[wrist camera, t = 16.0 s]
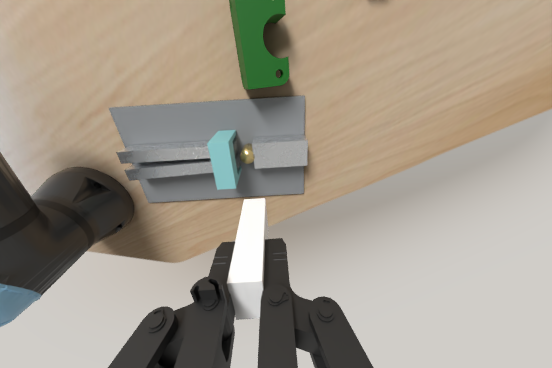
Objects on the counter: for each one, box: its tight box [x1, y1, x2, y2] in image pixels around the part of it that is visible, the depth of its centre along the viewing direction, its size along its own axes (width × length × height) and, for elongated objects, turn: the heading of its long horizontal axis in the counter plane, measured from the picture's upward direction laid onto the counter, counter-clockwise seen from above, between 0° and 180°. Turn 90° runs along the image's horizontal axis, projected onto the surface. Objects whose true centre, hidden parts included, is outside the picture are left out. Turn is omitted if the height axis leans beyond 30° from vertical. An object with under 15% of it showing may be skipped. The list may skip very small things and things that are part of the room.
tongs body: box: [116, 135, 308, 169], centre depth 36 cm, size 31×4×4 cm, turn 93°
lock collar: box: [207, 130, 242, 190], centre depth 34 cm, size 3×8×7 cm, turn 3°
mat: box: [109, 96, 305, 203], centre depth 38 cm, size 32×18×1 cm, turn 93°
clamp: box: [229, 0, 289, 90], centre depth 28 cm, size 12×6×9 cm, turn 0°
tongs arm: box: [125, 152, 240, 180], centre depth 36 cm, size 19×2×4 cm, turn 95°
